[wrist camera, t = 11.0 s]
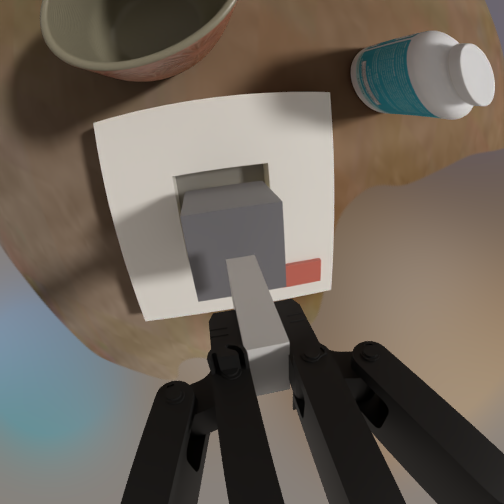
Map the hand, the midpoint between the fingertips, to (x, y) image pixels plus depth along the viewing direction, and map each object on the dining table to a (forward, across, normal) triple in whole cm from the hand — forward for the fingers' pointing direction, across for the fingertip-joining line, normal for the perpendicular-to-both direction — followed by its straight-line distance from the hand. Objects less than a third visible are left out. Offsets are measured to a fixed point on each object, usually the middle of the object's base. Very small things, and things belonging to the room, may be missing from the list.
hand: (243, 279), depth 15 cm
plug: (+13, 0, 0) cm, 13 cm away
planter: (+13, -4, +18) cm, 23 cm away
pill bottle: (+13, +17, +12) cm, 25 cm away
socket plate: (+13, 0, 0) cm, 13 cm away
